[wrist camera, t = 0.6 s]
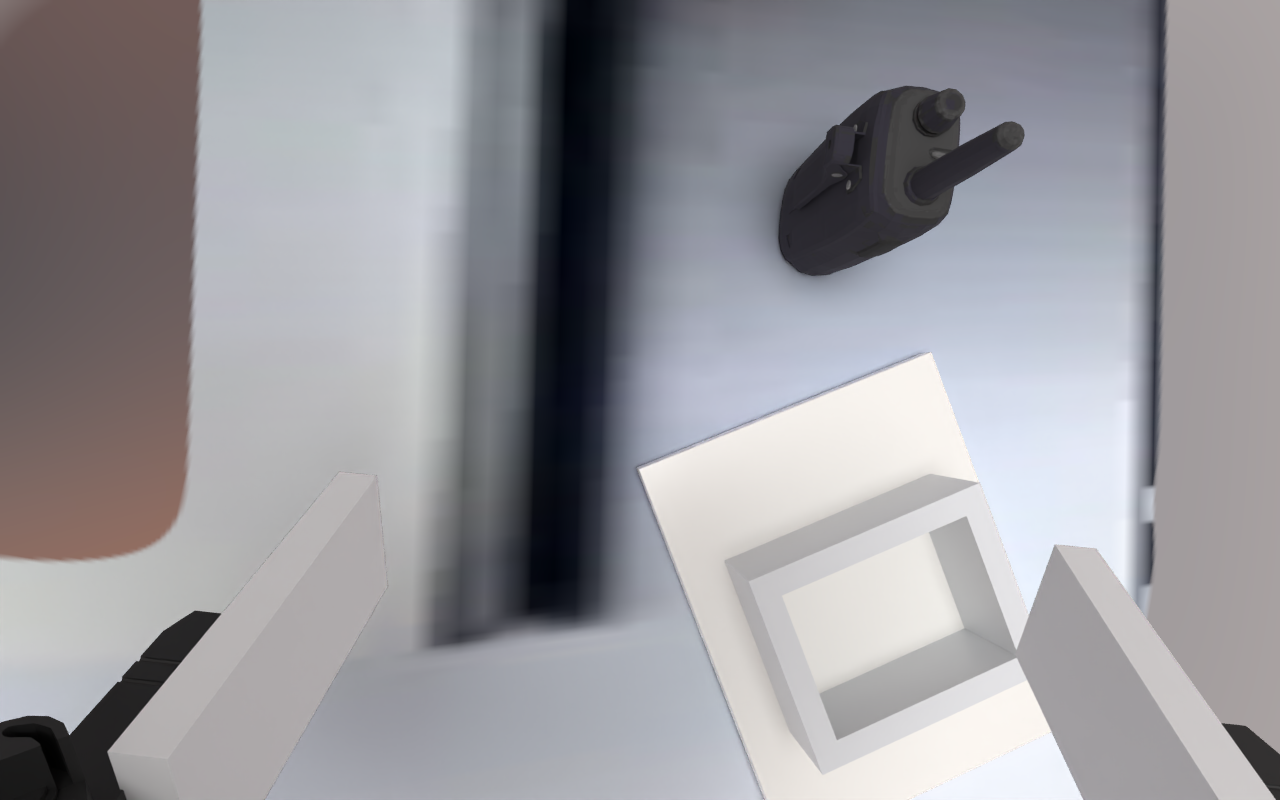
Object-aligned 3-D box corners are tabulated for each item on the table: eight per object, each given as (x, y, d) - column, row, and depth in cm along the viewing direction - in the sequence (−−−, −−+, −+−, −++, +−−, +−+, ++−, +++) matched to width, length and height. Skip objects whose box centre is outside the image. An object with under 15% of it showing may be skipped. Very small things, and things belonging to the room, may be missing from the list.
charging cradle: (636, 467, 34) (652, 478, 29) (920, 353, 36) (981, 345, 31) (781, 844, 35) (821, 916, 30) (1053, 715, 37) (1134, 764, 32)
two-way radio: (842, 287, 35) (1059, 204, 21) (746, 273, 35) (898, 177, 20) (855, 166, 36) (1081, -4, 21) (760, 150, 35) (922, -36, 20)
